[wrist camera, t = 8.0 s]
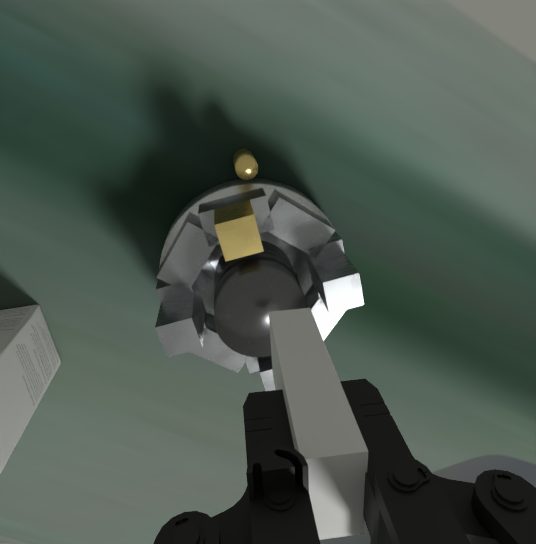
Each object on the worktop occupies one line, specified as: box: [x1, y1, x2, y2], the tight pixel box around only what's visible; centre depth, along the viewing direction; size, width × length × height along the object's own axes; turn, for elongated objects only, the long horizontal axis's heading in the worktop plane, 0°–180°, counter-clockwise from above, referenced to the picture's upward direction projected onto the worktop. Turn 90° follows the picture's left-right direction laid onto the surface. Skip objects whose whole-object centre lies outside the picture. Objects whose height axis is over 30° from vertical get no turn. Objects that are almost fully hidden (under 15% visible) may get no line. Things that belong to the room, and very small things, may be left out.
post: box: [233, 148, 258, 180], centre depth 31 cm, size 2×2×4 cm
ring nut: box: [155, 188, 364, 391], centre depth 31 cm, size 14×14×6 cm
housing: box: [159, 178, 336, 357], centre depth 32 cm, size 15×15×9 cm
